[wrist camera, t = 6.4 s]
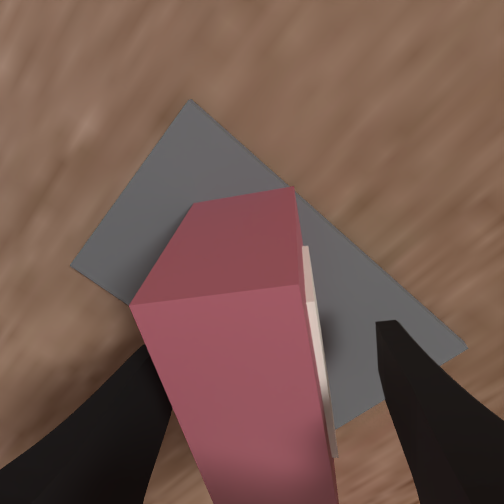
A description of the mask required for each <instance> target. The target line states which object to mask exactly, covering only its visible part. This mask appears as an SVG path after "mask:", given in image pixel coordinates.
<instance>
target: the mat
mask: <svg viewBox="0 0 504 504" xmlns="http://www.w3.org/2000/svg"><path fill="white" fill-rule="evenodd" d="M286 187H290V186H288V185H287V184H286V183H285V182H284V181H283V180H282V179H281V178H279V177H278V176H277V175H276V174H275V173H274V172H273V171H272V170H270V169H269V168H268V167H267V166H266V165H265V164H264V163H263V162H261V161H260V160H259V159H258V158H257V157H256V156H255V155H254V154H252V153H251V152H250V151H249V150H248V149H247V148H246V147H245V146H243V145H242V144H241V143H240V142H239V141H238V140H237V139H236V138H234V137H233V136H232V135H231V134H230V133H229V132H228V131H227V130H225V129H224V128H223V127H222V126H221V125H220V124H219V123H218V122H216V121H215V120H214V119H213V118H212V117H211V116H210V115H209V114H207V113H206V112H205V111H204V110H203V109H202V108H201V107H200V106H198V105H197V104H196V103H195V102H194V101H193V100H192V99H190V100H188V101H187V103H186V104H185V105H184V107H183V108H182V110H181V111H180V112H179V114H178V115H177V117H176V118H175V119H174V121H173V122H172V124H171V125H170V126H169V128H168V129H167V131H166V132H165V133H164V135H163V136H162V138H161V139H160V140H159V142H158V143H157V145H156V146H155V147H154V149H153V150H152V151H151V153H150V154H149V156H148V157H147V158H146V160H145V161H144V163H143V164H142V165H141V167H140V168H139V170H138V171H137V172H136V174H135V175H134V177H133V178H132V179H131V181H130V182H129V184H128V185H127V186H126V188H125V189H124V191H123V192H122V193H121V195H120V196H119V198H118V199H117V200H116V202H115V203H114V204H113V206H112V207H111V209H110V210H109V211H108V213H107V214H106V216H105V217H104V218H103V220H102V221H101V223H100V224H99V225H98V227H97V228H96V230H95V231H94V232H93V234H92V235H91V237H90V238H89V239H88V241H87V242H86V244H85V245H84V246H83V248H82V249H81V251H80V252H79V253H78V255H77V256H76V257H75V259H74V260H73V262H72V263H71V264H70V266H71V267H73V268H74V269H76V270H77V271H79V272H80V273H81V274H83V275H84V276H86V277H87V278H89V279H90V280H92V281H93V282H95V283H96V284H98V285H99V286H101V287H102V288H104V289H105V290H106V291H108V292H109V293H111V294H112V295H114V296H115V297H117V298H118V299H120V300H121V301H123V302H124V303H126V304H127V305H129V304H130V303H131V301H132V300H133V298H134V297H135V295H136V293H137V292H138V290H139V289H140V287H141V286H142V284H143V282H144V281H145V279H146V278H147V276H148V274H149V273H150V271H151V270H152V268H153V267H154V265H155V263H156V262H157V260H158V259H159V257H160V256H161V254H162V252H163V251H164V249H165V248H166V246H167V244H168V243H169V241H170V240H171V238H172V237H173V235H174V233H175V232H176V230H177V229H178V227H179V226H180V224H181V222H182V221H183V219H184V218H185V216H186V214H187V213H188V211H189V210H190V208H191V207H192V205H193V203H198V202H203V201H209V200H215V199H221V198H227V197H233V196H239V195H245V194H251V193H257V192H262V191H268V190H274V189H280V188H286ZM295 196H296V203H297V209H298V215H299V222H300V228H301V234H302V241H303V246H308V247H309V254H310V261H311V267H312V274H313V280H314V287H315V294H316V300H317V307H318V314H319V320H320V327H321V334H322V340H323V347H324V353H325V360H326V367H327V373H328V380H329V387H330V395H331V403H332V411H333V419H334V426H335V430H336V429H337V428H339V427H341V426H342V425H344V424H346V423H347V422H349V421H351V420H352V419H354V418H355V417H357V416H359V415H360V414H362V413H364V412H365V411H367V410H369V409H370V408H372V407H373V406H375V405H377V404H378V403H380V402H382V401H383V400H385V397H384V393H383V389H382V385H381V380H380V376H379V372H378V360H377V342H376V324H375V322H378V321H388V320H397V321H398V322H399V323H400V324H401V325H402V326H403V328H404V329H405V330H406V331H407V332H408V333H409V335H410V336H411V337H412V338H413V339H414V340H415V341H416V342H417V344H418V345H419V346H420V347H421V348H422V349H423V350H424V351H425V352H426V353H427V354H428V355H429V356H430V357H431V358H432V359H433V360H434V361H435V362H436V363H437V364H438V365H439V366H440V365H442V364H444V363H445V362H447V361H449V360H450V359H452V358H454V357H455V356H457V355H458V354H460V353H462V352H463V351H465V350H467V349H468V347H467V346H466V344H465V342H464V341H463V340H462V339H461V338H459V337H458V336H457V335H456V334H455V333H454V332H453V331H452V330H450V329H449V328H448V327H447V326H446V325H445V324H444V323H443V322H441V321H440V320H439V319H438V318H437V317H436V316H435V315H434V314H432V313H431V312H430V311H429V310H428V309H427V308H426V307H425V306H423V305H422V304H421V303H420V302H419V301H418V300H417V299H416V298H414V297H413V296H412V295H411V294H410V293H409V292H408V291H407V290H405V289H404V288H403V287H402V286H401V285H400V284H399V283H398V282H396V281H395V280H394V279H393V278H392V277H391V276H390V275H389V274H387V273H386V272H385V271H384V270H383V269H382V268H381V267H380V266H378V265H377V264H376V263H375V262H374V261H373V260H372V259H371V258H369V257H368V256H367V255H366V254H365V253H364V252H363V251H362V250H360V249H359V248H358V247H357V246H356V245H355V244H354V243H353V242H351V241H350V240H349V239H348V238H347V237H346V236H345V235H344V234H342V233H341V232H340V231H339V230H338V229H337V228H336V227H335V226H333V225H332V224H331V223H330V222H329V221H328V220H327V219H326V218H324V217H323V216H322V215H321V214H320V213H319V212H318V211H317V210H315V209H314V208H313V207H312V206H311V205H310V204H309V203H308V202H306V201H305V200H304V199H303V198H302V197H301V196H300V195H299V194H297V193H296V192H295Z"/></svg>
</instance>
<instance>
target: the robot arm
mask: <svg viewBox="0 0 504 504" xmlns="http://www.w3.org/2000/svg"><path fill="white" fill-rule="evenodd" d="M375 324H376V342H377V360H378V372H379V376H380V380H381V385H382V389H383V393H384V397H385V401H386V404H387V407H388V409H389V412H390V415H391V418H392V421H393V423H394V426H395V429H396V432H397V434H398V437H399V440H400V443H401V446H402V448H403V451H404V454H405V457H406V459H407V462H408V465H409V468H410V470H411V473H412V476H413V480H414V483H415V486H416V489H417V493H418V497H419V500H420V504H504V421H503V420H502V419H501V418H499V417H498V416H497V415H495V414H494V413H493V412H492V411H490V410H489V409H488V408H486V407H485V406H484V405H483V404H481V403H480V402H479V401H478V400H476V399H475V398H474V397H473V396H472V395H471V394H469V393H468V392H467V391H466V390H465V389H464V388H462V387H461V386H460V385H459V384H458V383H457V382H456V381H455V380H453V379H452V378H451V377H450V376H449V375H448V374H447V373H446V372H445V371H444V370H443V369H442V368H441V367H440V366H439V365H438V364H437V363H436V362H435V361H434V360H433V359H432V358H431V357H430V356H429V355H428V354H427V353H426V352H425V351H424V350H423V349H422V348H421V347H420V346H419V345H418V344H417V342H416V341H415V340H414V339H413V338H412V337H411V336H410V335H409V333H408V332H407V331H406V330H405V329H404V328H403V326H402V325H401V324H400V323H399V322H398V321H397V320H388V321H378V322H375ZM171 411H172V405H171V403H170V401H169V398H168V396H167V394H166V391H165V389H164V387H163V384H162V382H161V380H160V377H159V375H158V373H157V370H156V368H155V366H154V363H153V361H152V359H151V356H150V354H149V352H148V349H147V347H146V345H142V346H141V347H140V348H139V349H138V350H137V351H136V352H135V353H134V354H133V355H132V356H131V357H130V358H129V359H128V360H127V361H126V362H125V363H124V364H123V365H122V366H121V367H120V368H119V369H118V370H117V371H116V372H115V373H114V374H113V375H112V376H111V377H110V378H109V379H108V380H107V381H106V382H105V383H104V384H103V385H102V386H101V387H100V388H99V389H98V390H97V391H96V392H95V393H94V394H93V395H92V396H91V397H90V398H89V399H88V400H86V401H85V402H84V403H83V404H82V405H81V406H80V407H79V408H78V409H77V410H76V411H75V412H74V413H73V414H71V415H70V416H69V417H68V418H67V419H66V420H65V421H63V422H62V423H61V424H60V425H59V426H58V427H56V428H55V429H54V430H53V431H51V432H50V433H49V434H48V435H47V436H45V437H44V438H43V439H42V440H40V441H39V442H38V443H36V444H35V445H34V446H32V447H31V448H30V449H28V450H27V451H26V452H24V453H23V454H21V455H20V456H19V457H17V458H16V459H15V460H13V461H12V462H10V463H9V464H8V465H6V466H5V467H3V468H2V469H1V470H0V504H143V501H144V497H145V493H146V490H147V486H148V483H149V480H150V477H151V474H152V471H153V468H154V465H155V462H156V459H157V456H158V453H159V450H160V447H161V444H162V441H163V438H164V435H165V431H166V428H167V425H168V422H169V419H170V416H171Z"/></svg>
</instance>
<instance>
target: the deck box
mask: <svg viewBox="0 0 504 504" xmlns="http://www.w3.org/2000/svg"><path fill="white" fill-rule="evenodd" d="M129 307H130V310H131V312H132V314H133V317H134V319H135V321H136V324H137V326H138V328H139V331H140V333H141V335H142V338H143V340H144V342H145V345H146V347H147V349H148V352H149V354H150V356H151V359H152V361H153V363H154V366H155V368H156V370H157V373H158V375H159V377H160V380H161V382H162V384H163V387H164V389H165V391H166V394H167V396H168V398H169V401H170V403H171V405H172V408H173V410H174V412H175V415H176V417H177V419H178V422H179V424H180V426H181V429H182V431H183V433H184V436H185V438H186V440H187V443H188V445H189V447H190V450H191V452H192V454H193V457H194V459H195V461H196V464H197V466H198V468H199V471H200V473H201V475H202V478H203V480H204V482H205V485H206V487H207V489H208V492H209V494H210V496H211V499H212V501H213V503H214V504H339V501H338V493H337V484H336V475H335V467H334V458H336V457H338V450H337V442H336V434H335V426H334V419H333V411H332V403H331V395H330V387H329V380H328V373H327V367H326V360H325V353H324V347H323V340H322V334H321V327H320V320H319V314H318V307H317V300H316V294H315V287H314V280H313V274H312V267H311V261H310V254H309V247H308V246H303V241H302V234H301V228H300V222H299V215H298V209H297V203H296V196H295V190H294V186H292V187H286V188H280V189H274V190H268V191H262V192H257V193H251V194H245V195H239V196H233V197H227V198H221V199H215V200H209V201H203V202H198V203H193V205H192V207H191V208H190V210H189V211H188V213H187V214H186V216H185V218H184V219H183V221H182V222H181V224H180V226H179V227H178V229H177V230H176V232H175V233H174V235H173V237H172V238H171V240H170V241H169V243H168V244H167V246H166V248H165V249H164V251H163V252H162V254H161V256H160V257H159V259H158V260H157V262H156V263H155V265H154V267H153V268H152V270H151V271H150V273H149V274H148V276H147V278H146V279H145V281H144V282H143V284H142V286H141V287H140V289H139V290H138V292H137V293H136V295H135V297H134V298H133V300H132V301H131V303H130V304H129Z"/></svg>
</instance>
